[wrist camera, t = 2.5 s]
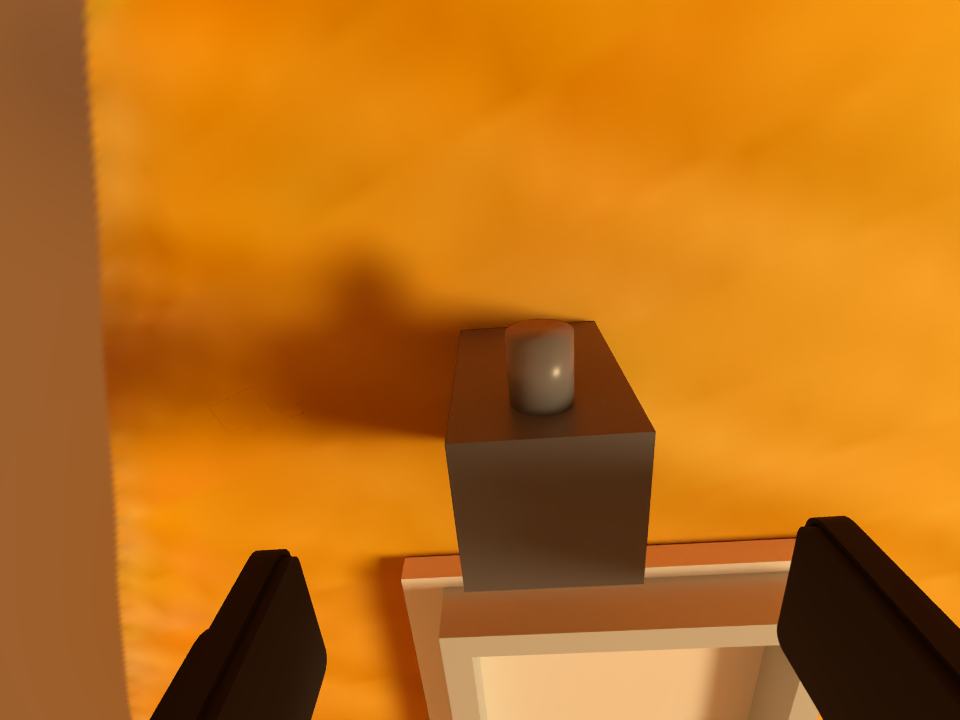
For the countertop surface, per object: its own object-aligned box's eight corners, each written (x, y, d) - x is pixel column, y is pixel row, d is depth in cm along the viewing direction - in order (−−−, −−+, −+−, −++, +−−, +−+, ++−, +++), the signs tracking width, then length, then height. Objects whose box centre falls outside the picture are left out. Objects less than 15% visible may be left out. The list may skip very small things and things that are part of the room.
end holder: (405, 557, 19) (391, 630, 16) (840, 536, 18) (903, 608, 15) (445, 766, 25) (440, 845, 22) (776, 757, 24) (813, 837, 21)
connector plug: (455, 278, 14) (434, 370, 9) (594, 268, 14) (661, 354, 9) (472, 441, 17) (464, 592, 11) (592, 434, 16) (643, 584, 11)
